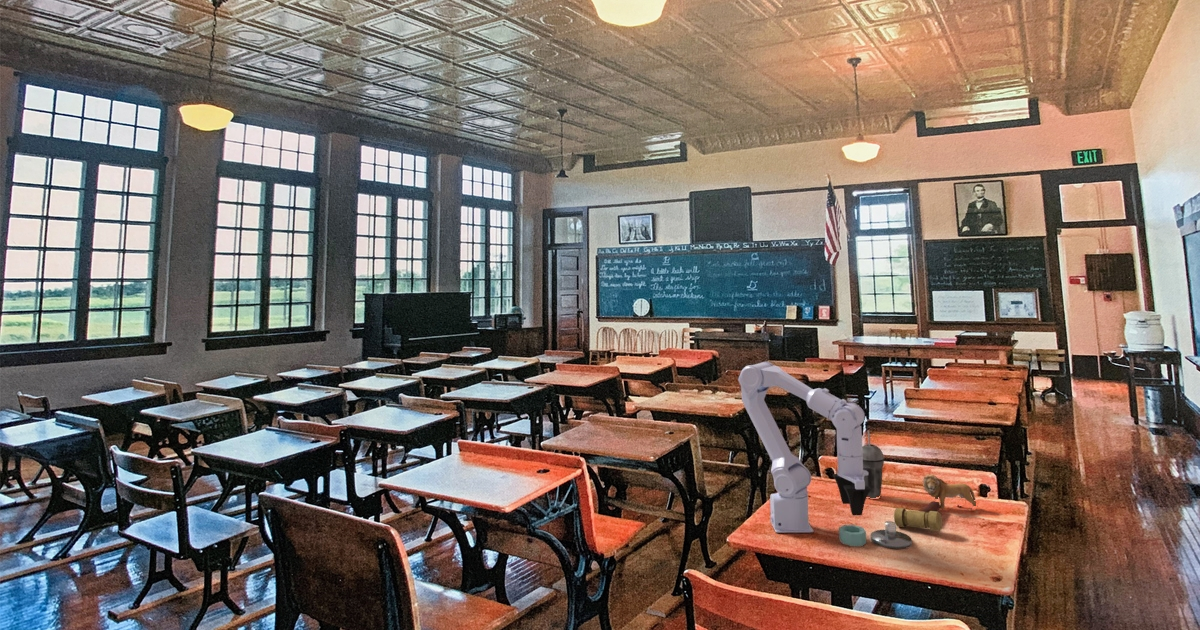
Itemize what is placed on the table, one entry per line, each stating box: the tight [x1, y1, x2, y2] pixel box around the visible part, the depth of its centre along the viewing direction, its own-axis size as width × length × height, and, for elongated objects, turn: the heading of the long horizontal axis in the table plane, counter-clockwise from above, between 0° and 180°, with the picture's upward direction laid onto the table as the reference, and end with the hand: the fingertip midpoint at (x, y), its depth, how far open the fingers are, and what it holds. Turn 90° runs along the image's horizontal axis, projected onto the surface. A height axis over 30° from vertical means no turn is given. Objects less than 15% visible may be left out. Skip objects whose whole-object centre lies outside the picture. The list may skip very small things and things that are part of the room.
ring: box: [838, 524, 867, 547], centre depth 147 cm, size 6×6×3 cm
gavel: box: [893, 500, 943, 532], centre depth 157 cm, size 21×5×10 cm
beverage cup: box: [862, 429, 885, 498], centre depth 175 cm, size 7×7×20 cm
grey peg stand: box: [870, 520, 913, 550], centre depth 146 cm, size 9×9×4 cm
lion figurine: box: [922, 474, 977, 510], centre depth 164 cm, size 15×5×9 cm, turn 87°
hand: (851, 509), depth 146 cm, fingers open, 7 cm apart
